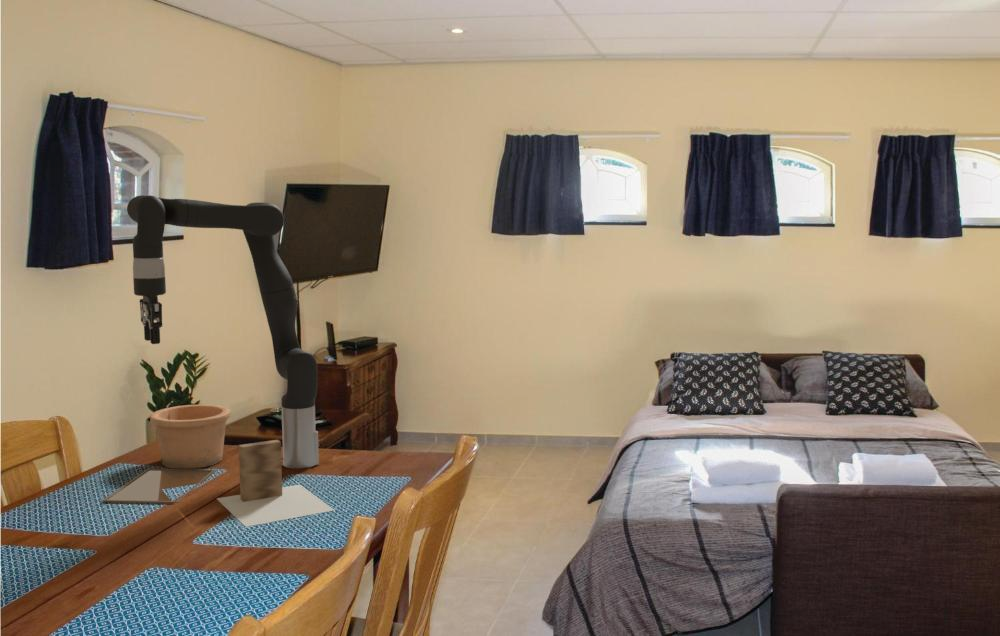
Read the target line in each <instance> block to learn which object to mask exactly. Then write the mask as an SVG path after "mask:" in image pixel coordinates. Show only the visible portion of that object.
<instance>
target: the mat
mask: <svg viewBox="0 0 1000 636" xmlns="http://www.w3.org/2000/svg"><path fill="white" fill-rule="evenodd" d="M216 500H217V501H218V502H219V503H220V504H221V505H222V506H223V507H224V508H226V509H227V510H228V512H229V513H231V514H232V515H233V516H234V517H235V518H236V520H238V521H239V522H240V523H241V524H242V525H243V526H244V527H245V528H246V527H252V526H257V525H262V524H263V525H264V524H268V523H274V522H279V521H286V520H289V519H296V518H302V517H306V516H310V515H317V514H321V513H322V514H323V513H327V512H328V513H329V512H331V511H332V512H333V511H335V509H334V508H333V507H332V506H331V505H329V504H328V503H326V502H325V501H323V500H322V499H320V498H319V497H318V496H316V495H315V494H314V493H312V492H311V491H310V490H308V489H307V488H305V487H304V486H303V485H301V484H295V485H290V486H282V495H281V496H275V497H270V498H264V499H258V500H252V501H246V502H243V501H242V500H241V497H240V494H234V495H229V496H224V497H223V496H222V497H217V498H216Z"/></svg>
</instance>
